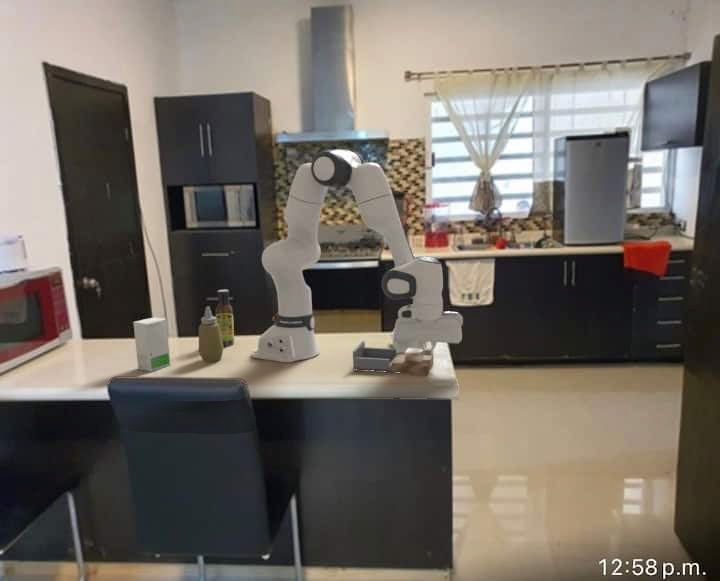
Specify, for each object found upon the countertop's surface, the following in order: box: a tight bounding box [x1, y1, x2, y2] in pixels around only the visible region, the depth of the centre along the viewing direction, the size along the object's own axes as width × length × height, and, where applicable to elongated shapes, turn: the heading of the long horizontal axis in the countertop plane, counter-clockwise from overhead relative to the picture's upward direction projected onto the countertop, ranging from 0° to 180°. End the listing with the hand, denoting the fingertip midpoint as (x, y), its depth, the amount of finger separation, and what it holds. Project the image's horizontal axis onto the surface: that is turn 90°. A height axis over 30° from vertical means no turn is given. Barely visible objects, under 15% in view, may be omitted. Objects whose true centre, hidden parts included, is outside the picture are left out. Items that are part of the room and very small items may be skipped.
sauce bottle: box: [214, 288, 235, 347], centre depth 202 cm, size 6×6×20 cm
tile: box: [405, 348, 424, 362], centre depth 173 cm, size 5×5×2 cm
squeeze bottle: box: [198, 306, 225, 363], centre depth 185 cm, size 8×8×18 cm
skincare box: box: [133, 316, 172, 373], centre depth 180 cm, size 8×7×16 cm
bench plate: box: [392, 352, 434, 376], centre depth 173 cm, size 11×11×3 cm
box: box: [352, 340, 398, 373], centre depth 176 cm, size 12×11×6 cm
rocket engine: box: [389, 328, 428, 354], centre depth 191 cm, size 12×12×18 cm
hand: (427, 355), depth 172 cm, fingers closed
